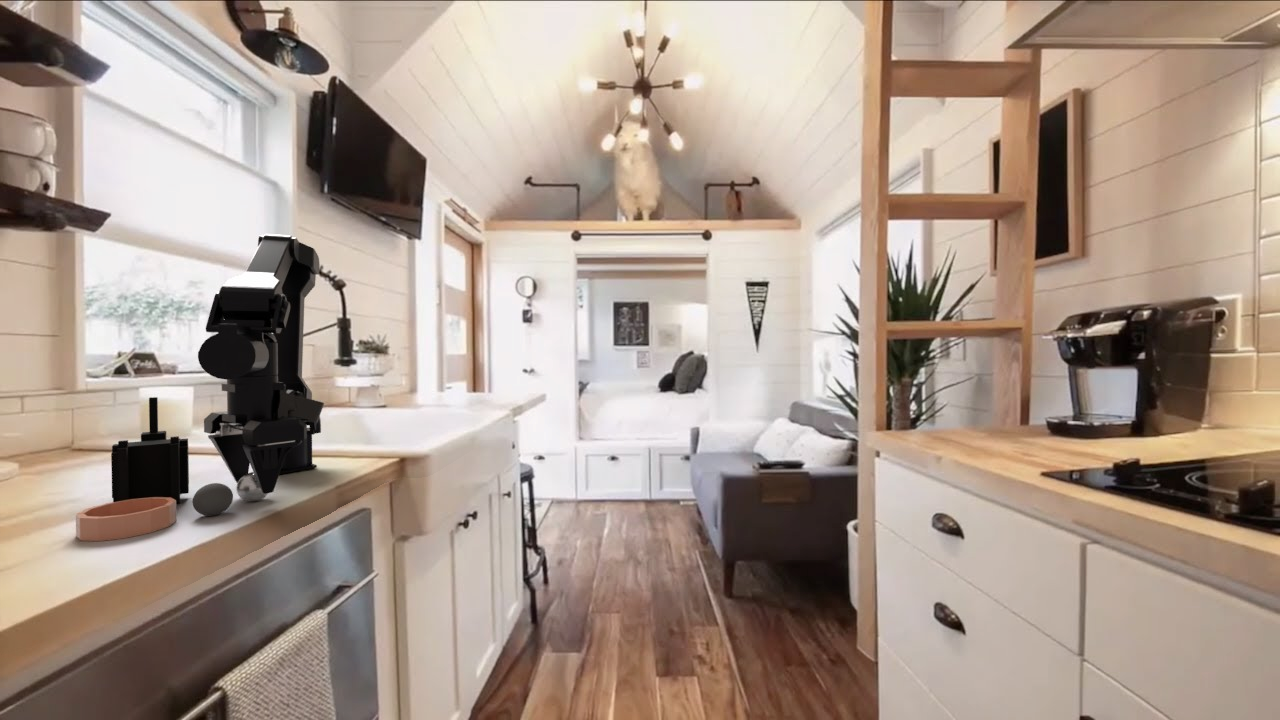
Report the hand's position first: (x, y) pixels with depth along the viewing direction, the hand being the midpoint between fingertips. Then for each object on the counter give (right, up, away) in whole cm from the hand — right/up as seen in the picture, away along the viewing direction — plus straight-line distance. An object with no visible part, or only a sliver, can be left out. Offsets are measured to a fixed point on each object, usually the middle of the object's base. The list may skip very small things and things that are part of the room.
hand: (254, 487), depth 73 cm
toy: (-10, +5, -5) cm, 12 cm away
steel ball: (0, 0, 0) cm, 0 cm away
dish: (-7, -2, -11) cm, 13 cm away
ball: (-1, 0, -6) cm, 6 cm away
